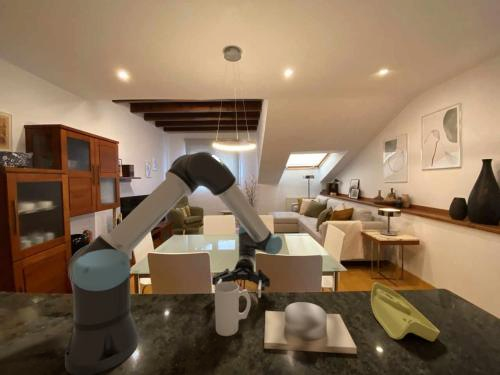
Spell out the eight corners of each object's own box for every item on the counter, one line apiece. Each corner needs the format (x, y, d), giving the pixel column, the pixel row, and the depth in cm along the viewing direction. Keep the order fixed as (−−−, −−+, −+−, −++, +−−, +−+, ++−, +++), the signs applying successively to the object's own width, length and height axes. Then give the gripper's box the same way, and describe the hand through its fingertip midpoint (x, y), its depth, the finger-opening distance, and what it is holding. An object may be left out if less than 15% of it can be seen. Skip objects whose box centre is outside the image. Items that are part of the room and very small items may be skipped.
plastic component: (444, 335, 59) (409, 318, 58) (429, 359, 59) (394, 342, 59) (397, 292, 78) (371, 279, 78) (387, 310, 79) (360, 298, 79)
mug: (214, 337, 61) (213, 293, 61) (215, 322, 68) (215, 282, 68) (251, 335, 62) (251, 291, 62) (249, 320, 69) (249, 280, 69)
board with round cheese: (264, 348, 57) (264, 326, 57) (265, 315, 71) (265, 298, 71) (356, 353, 55) (356, 331, 55) (339, 319, 69) (339, 301, 69)
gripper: (275, 277, 93) (277, 305, 72) (214, 275, 95) (199, 302, 74) (275, 259, 93) (277, 281, 72) (214, 257, 95) (199, 279, 74)
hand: (237, 292), depth 73 cm, fingers open, 13 cm apart
